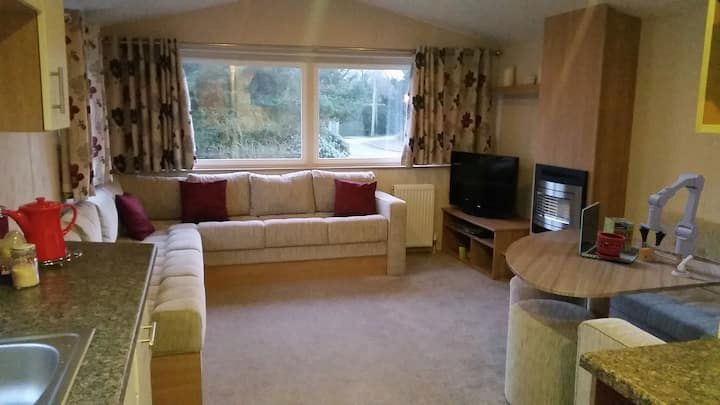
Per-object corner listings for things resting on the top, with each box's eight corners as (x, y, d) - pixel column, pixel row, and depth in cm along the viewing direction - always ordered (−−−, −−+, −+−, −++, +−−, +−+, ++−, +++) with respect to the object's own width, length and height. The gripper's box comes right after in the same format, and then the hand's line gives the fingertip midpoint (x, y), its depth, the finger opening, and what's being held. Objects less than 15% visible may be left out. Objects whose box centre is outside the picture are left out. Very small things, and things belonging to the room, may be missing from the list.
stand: (645, 251, 288) (647, 241, 287) (684, 263, 268) (685, 253, 267) (638, 252, 286) (639, 242, 285) (676, 264, 266) (677, 254, 265)
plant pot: (611, 262, 264) (614, 239, 262) (589, 255, 276) (592, 232, 274) (628, 260, 270) (631, 237, 268) (606, 252, 282) (609, 231, 280)
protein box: (610, 250, 287) (614, 222, 284) (601, 243, 302) (605, 216, 299) (630, 252, 286) (635, 224, 283) (620, 244, 301) (624, 217, 298)
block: (648, 258, 275) (650, 247, 274) (652, 259, 273) (654, 248, 272) (637, 259, 272) (639, 248, 271) (642, 260, 270) (643, 249, 269)
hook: (706, 267, 245) (697, 260, 243) (685, 285, 248) (677, 278, 246) (695, 259, 252) (687, 252, 250) (675, 277, 255) (667, 269, 253)
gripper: (636, 215, 274) (633, 240, 277) (662, 221, 261) (657, 248, 264) (646, 214, 277) (642, 239, 280) (672, 221, 264) (667, 247, 267)
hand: (650, 243), depth 272 cm, fingers open, 7 cm apart
